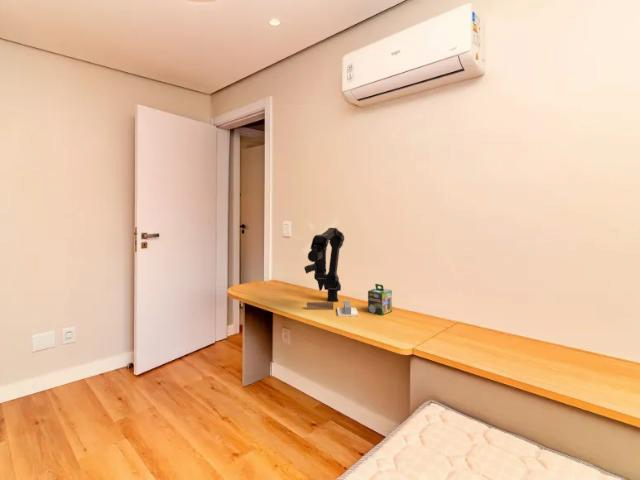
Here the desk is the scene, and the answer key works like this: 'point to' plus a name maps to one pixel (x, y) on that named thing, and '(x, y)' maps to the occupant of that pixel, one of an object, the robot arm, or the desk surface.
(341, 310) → the fulcrum
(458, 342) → the desk surface
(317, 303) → the bar
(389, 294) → the chalk box
